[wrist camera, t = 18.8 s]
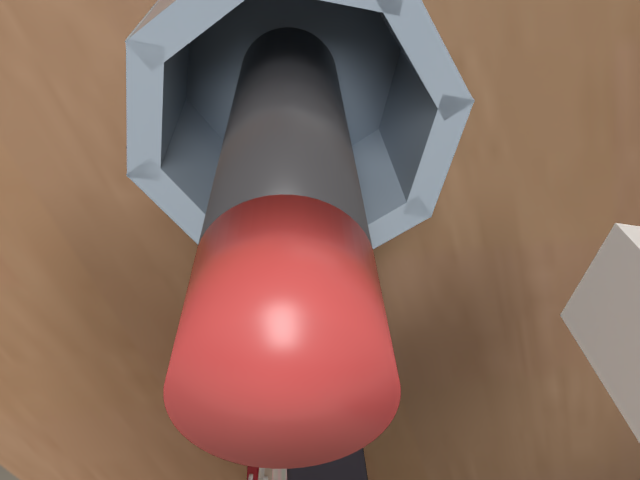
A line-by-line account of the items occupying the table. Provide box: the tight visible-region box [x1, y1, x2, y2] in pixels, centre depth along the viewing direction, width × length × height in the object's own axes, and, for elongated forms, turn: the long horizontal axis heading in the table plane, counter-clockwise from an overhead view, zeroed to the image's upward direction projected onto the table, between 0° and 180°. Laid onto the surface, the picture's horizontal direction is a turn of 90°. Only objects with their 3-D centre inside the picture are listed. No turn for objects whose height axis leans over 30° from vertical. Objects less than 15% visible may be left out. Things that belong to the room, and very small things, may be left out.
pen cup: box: [125, 0, 474, 249], centre depth 17 cm, size 9×9×6 cm
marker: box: [164, 27, 401, 469], centre depth 13 cm, size 3×3×14 cm
